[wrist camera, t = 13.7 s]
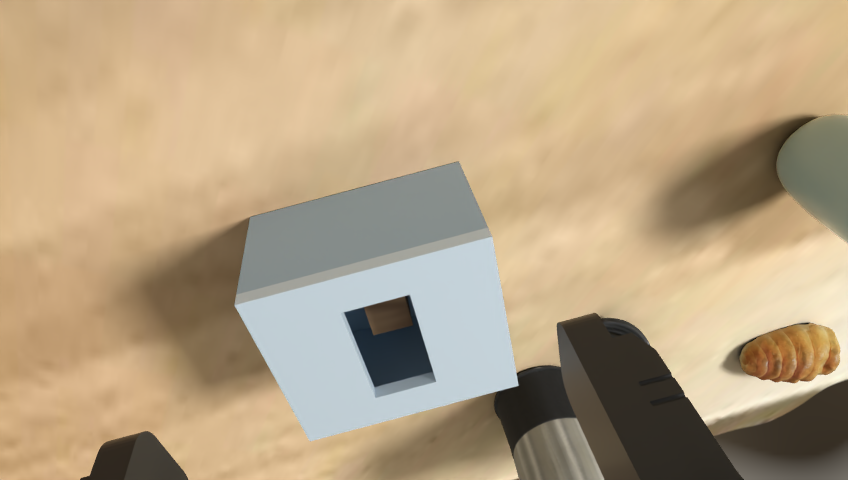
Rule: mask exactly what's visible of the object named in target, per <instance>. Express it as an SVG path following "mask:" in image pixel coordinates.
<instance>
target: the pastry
mask: <svg viewBox="0 0 848 480" xmlns="http://www.w3.org/2000/svg"><path fill="white" fill-rule="evenodd" d="M839 354H840V346H839V343H838V340H837V338H836V336H835V333H834V332H833V330H831V329H830V328H828V327H825V326H821V325H817V324H813V323H810V324H806V325H801V324H797V325H793V326H788V327H786V328H782V329H778V330H775V331H773V332H769V333H766V334H764V335H761V336H759V337H757V338H756V339H755V340H753V341H752V342H749V343H747V344H746V345H745V347H744V348H743V349H742V352H741V355H740V358H739V360H740V363H741V367H742V369H743V371H744V372H746V374H748V375H751V376H755V377H758V378H759V379H761V380H767V379H769V380H772V381H774V382H780V381H783V382H790V383H796V382H798V381H799V380H800V381H811V380H813V379H814V378H815V377H816V375H822V374H823V375H828V374H830V373H832V372H833V371H835V369H836V368H837V366H838V365H839V362H840V355H839Z"/></svg>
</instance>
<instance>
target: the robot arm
mask: <svg viewBox="0 0 848 480" xmlns="http://www.w3.org/2000/svg"><path fill="white" fill-rule="evenodd" d="M557 335H558V344H559V353H560V363H561V372H562V378H563V383H564V386H565V390H566V393H567V396H568V399H569V401H570V404H571V406H572V409H573V411H574V413H575V415H576V417H577V420H578V422H579V424H580V426H581V429H582V431H583V433H584V435H585V437H586V440H587V442H588V444H589V446H590V448H591V451H592V453H593V455H594V457H595V460H596V462H597V464H598V466H599V468H600V471H601V473H602V475H603V477H604V480H744V479H743V478H742V477H741V476H740V475H739V473H738V472H737V471H736V469H735V468H734V466H733V465H732V463H731V462H730V460H729V459H728V458H727V456H726V454H725V453H724V451H723V450H722V449H721V447H720V445H719V444H718V442H717V441H716V439H715V438H714V436H713V435H712V433H711V432H710V430H709V429H708V427H707V426H706V424H705V423H704V421H703V420H702V418H701V417H700V415H699V414H698V412H697V411H696V409H695V408H694V406H693V405H692V403H691V402H690V400H689V399H688V397H685V395H684V391H683V390H682V388H681V387H680V385H679V384H678V382H677V381H676V379H675V378H673V377H672V375H671V372H670V370H669V369H668V367H667V366H666V365H665V363H664V362H663V360H662V359H661V357H660V356H659V354H658V353H657V351H656V350H655V349H654V348H652V347H651V346H650V345H648V344H647V343H645V342H644V341H643V340H641V339H640V338H638V337H637V336H635V335H634V334H633V333H629V334H625V335H621V336H618V337H614V338H612V337H611V335H610V333H609V332H608V330H607V328H606V327H605V325H604V323H603V322H602V320H601V319H600V317H599V316H598V315H597V314H596V313H593V314H589V315H585V316H581V317H578V318H574V319H570V320H566V321H563V322H559V323H557ZM80 480H188V478H187V476H186V474H185V473H184V471H183V470H182V469H181V468H180V466H179V465H178V464H177V463H176V461H175V460H174V459H173V458H172V457H171V455H170V454H169V453H168V452H167V450H166V449H165V448H164V447H163V445H162V444H161V443H160V442H159V441H158V439H157V438H156V437H155V436H154V435H153V434H152V433H151V432H148V431H145V432H141V433H137V434H134V435H130V436H126V437H122V438H119V439H115V440H111V441H108V442H106V443H104V444H103V445H102V446H101V448H100V450H99V452H98V454H97V457H96V460H95V463H94V465H93V468H92V471H91V474H90V476H87V477H83V478H81V479H80Z"/></svg>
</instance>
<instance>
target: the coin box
mask: <svg viewBox="0 0 848 480" xmlns="http://www.w3.org/2000/svg"><path fill="white" fill-rule="evenodd" d="M403 296H407V297H408V302H409V307H410V312H411V317H412V322H413V325H412V326H409V327H405V328H401V329H397V330H393V331H389V332H385V333H381V334H377V335H373V332H372V330H371V327H370V324H369V321H368V318H367V315H366V312H365V310H364V307H366V306H369V305H373V304H377V303H381V302H384V301H388V300H392V299H396V298H399V297H403ZM235 307H236V309H237V311H238V313H239V314H240V316H241V318H242V320H243V322H244V323H245V325H246V327H247V329H248V331H249V332H250V334H251V336H252V338H253V340H254V341H255V343H256V345H257V347H258V349H259V350H260V352H261V354H262V356H263V358H264V359H265V361H266V363H267V365H268V367H269V368H270V370H271V372H272V374H273V376H274V377H275V379H276V381H277V383H278V385H279V386H280V388H281V390H282V392H283V394H284V395H285V397H286V399H287V401H288V403H289V404H290V406H291V408H292V410H293V412H294V413H295V415H296V417H297V419H298V421H299V422H300V424H301V426H302V428H303V430H304V431H305V433H306V435H307V437H308V439H309V440H310V441H313V440H317V439H321V438H325V437H328V436H332V435H336V434H340V433H343V432H347V431H351V430H355V429H358V428H362V427H366V426H370V425H373V424H377V423H381V422H385V421H388V420H392V419H396V418H400V417H403V416H407V415H411V414H415V413H418V412H422V411H426V410H430V409H433V408H437V407H441V406H444V405H448V404H452V403H456V402H459V401H463V400H467V399H471V398H474V397H478V396H482V395H486V394H489V393H493V392H497V391H501V390H504V389H508V388H512V387H516V386H519V385H518V379H517V374H516V368H515V362H514V357H513V351H512V346H511V340H510V334H509V329H508V323H507V317H506V312H505V306H504V300H503V295H502V289H501V284H500V278H499V272H498V267H497V261H496V255H495V250H494V244H493V238H492V235H491V233H490V231H489V228H488V226H487V224H486V222H485V219H484V217H483V215H482V213H481V210H480V208H479V206H478V204H477V201H476V199H475V197H474V195H473V192H472V190H471V188H470V186H469V183H468V181H467V179H466V177H465V174H464V172H463V170H462V168H461V165H460V163H459V162H455V163H451V164H447V165H444V166H440V167H436V168H432V169H429V170H425V171H421V172H417V173H414V174H410V175H406V176H402V177H399V178H395V179H391V180H387V181H384V182H380V183H376V184H372V185H369V186H365V187H361V188H357V189H354V190H350V191H346V192H342V193H339V194H335V195H331V196H327V197H324V198H320V199H316V200H312V201H309V202H305V203H301V204H297V205H294V206H290V207H286V208H282V209H279V210H275V211H271V212H267V213H264V214H260V215H256V216H252V217H250V221H249V226H248V232H247V238H246V243H245V249H244V254H243V260H242V266H241V271H240V277H239V282H238V288H237V293H236V299H235Z"/></svg>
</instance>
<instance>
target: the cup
mask: <svg viewBox="0 0 848 480" xmlns="http://www.w3.org/2000/svg"><path fill="white" fill-rule="evenodd" d="M776 169H777V174H778V178H779V180H780V182H781V184H782V186H783V187H784V189H785V190H786V192H787V193H788V194H789V195H790V196H791V197H792V199H793V200H794V201H795V202H797V203H798V204H799V205H800V206H801V207H802V208H803V209H804V210H805V211H806V212H807V213H808V214H810V215H811V216H812V217H813V218H814V219H816V220H817V221H818V222H819V223H821V224H822V225H823V226H824V227H826V228H827V229H828V230H830V231H831V232H832V233H834V234H835V235H836V236H838V237H839V238H840V239H841V240H843V241H844V242H846V243H847V244H848V115H845V114H831V115H825V116H821V117H819V118H816V119H814V120H811V121H809V122H808V123H806V124H804V125H803V126H801V127H800V128H798V129H797V130H796V131H795V132H794V133H793V134H792V135H790V137H789V138H788V139H787V140H786V141H785V143H784V144H783V146H782V147H781V149H780V151H779V153H778V157H777V161H776Z"/></svg>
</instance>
